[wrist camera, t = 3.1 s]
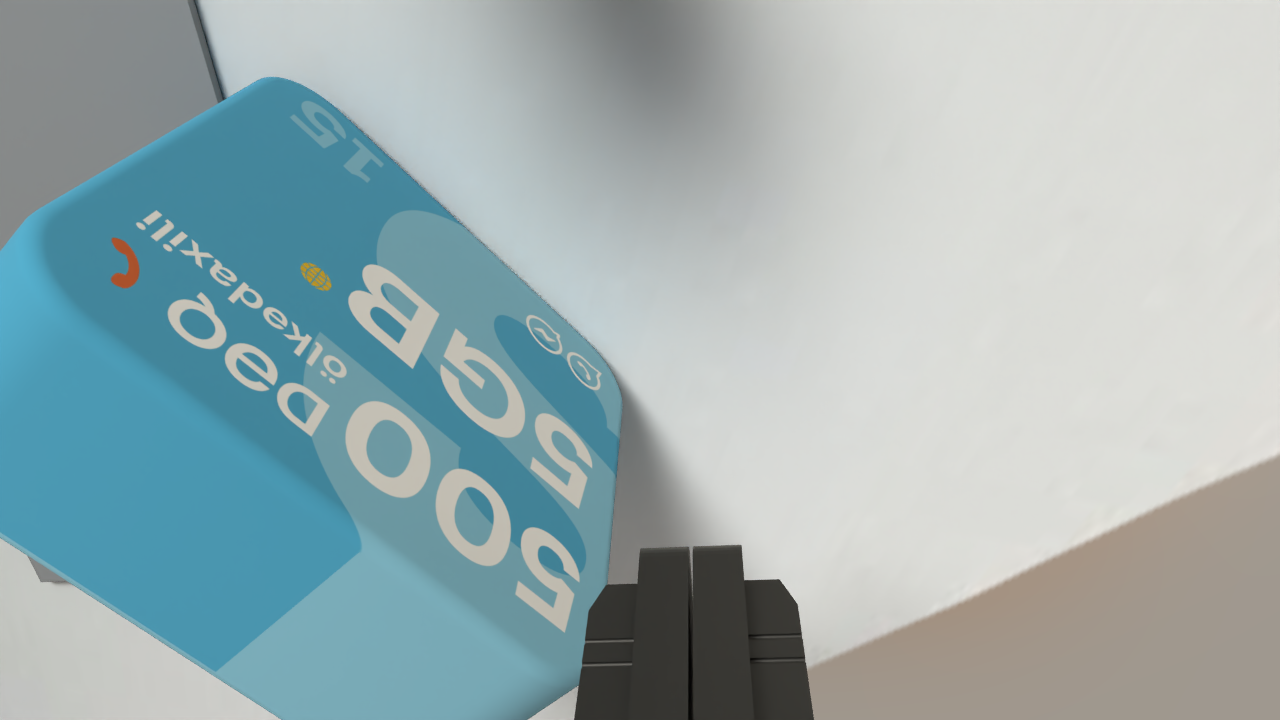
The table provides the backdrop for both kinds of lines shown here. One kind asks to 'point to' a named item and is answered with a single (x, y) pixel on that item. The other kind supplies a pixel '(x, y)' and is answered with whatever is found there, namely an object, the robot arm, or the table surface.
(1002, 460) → the table surface
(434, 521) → the data package
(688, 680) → the robot arm
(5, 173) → the mat
